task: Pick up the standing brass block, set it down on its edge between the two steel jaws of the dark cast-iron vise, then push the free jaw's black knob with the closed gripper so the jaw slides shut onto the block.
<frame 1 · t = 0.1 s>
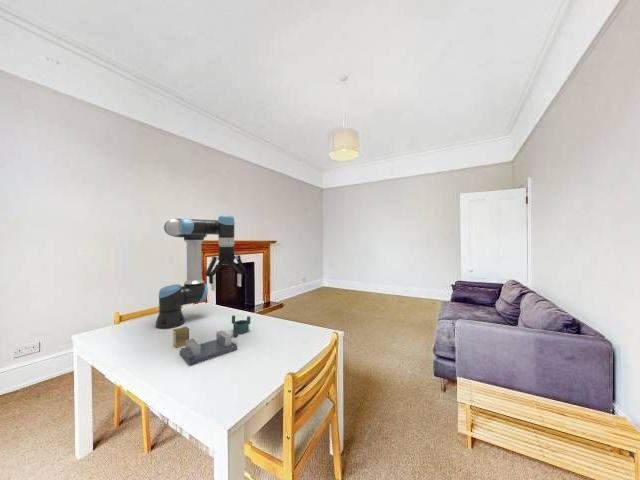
hand: (226, 288, 125), 28 cm above the table, fingers open, 13 cm apart
free jaw: (229, 336, 122), point 4 cm above the table, slide at 0.0 cm
bracket: (241, 331, 141), on the table
vise: (209, 352, 116), on the table
brass block: (181, 345, 123), on the table
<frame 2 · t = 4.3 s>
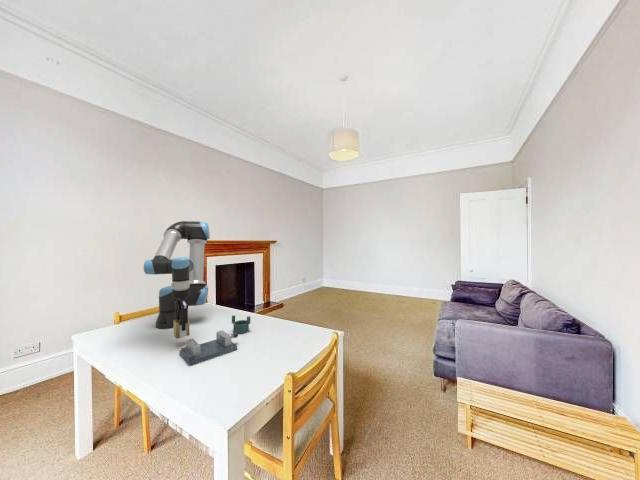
hand: (181, 334, 123), 5 cm above the table, fingers closed on brass block, 4 cm apart
brass block: (181, 335, 123), point 4 cm above the table, touching gripper
everything else where it was.
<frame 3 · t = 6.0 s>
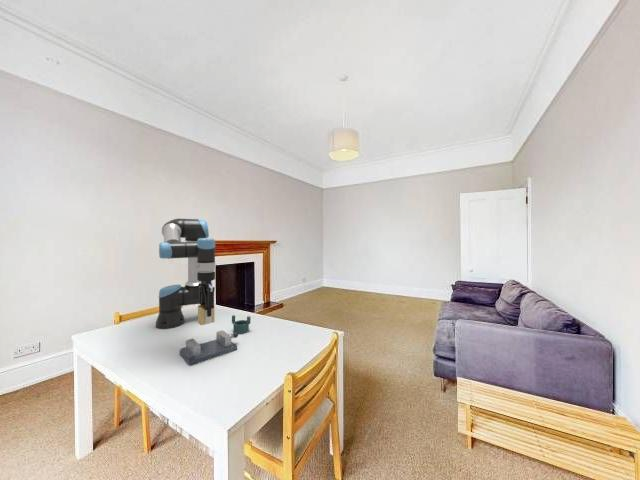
hand: (206, 321, 115), 15 cm above the table, fingers closed on brass block, 4 cm apart
brass block: (206, 322, 115), point 14 cm above the table, touching gripper
everything else where it was.
when the fingers open (2 cm above the table, at t = 8.0 s): brass block stays where it is, resting on vise.
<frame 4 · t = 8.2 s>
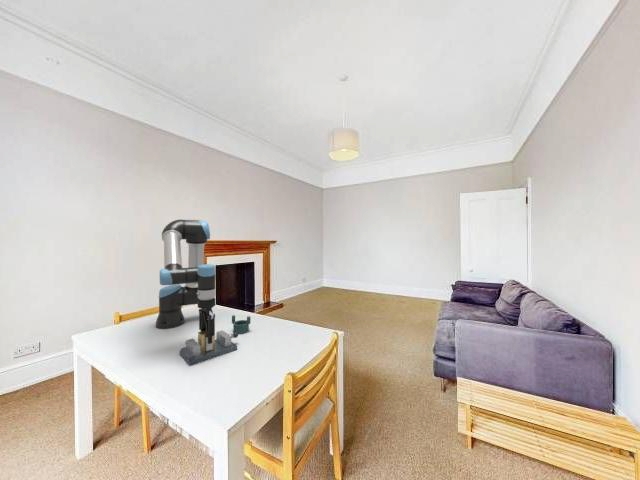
hand: (206, 347, 115), 2 cm above the table, fingers open, 5 cm apart
brass block: (206, 348, 115), point 2 cm above the table, touching vise
everything else where it was.
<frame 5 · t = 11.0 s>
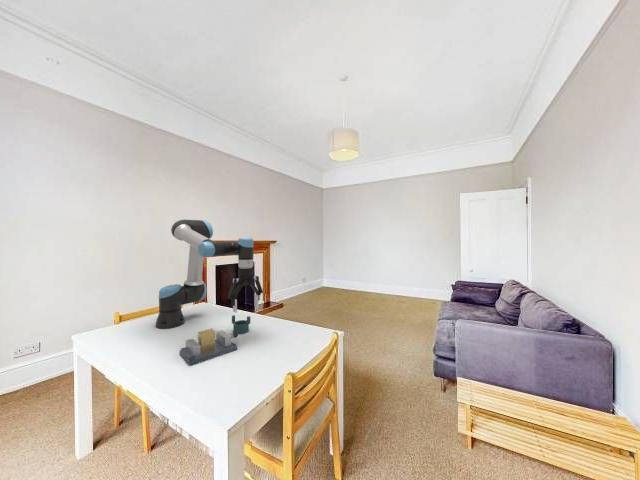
hand: (246, 309, 128), 16 cm above the table, fingers open, 11 cm apart
nothing on the table moved.
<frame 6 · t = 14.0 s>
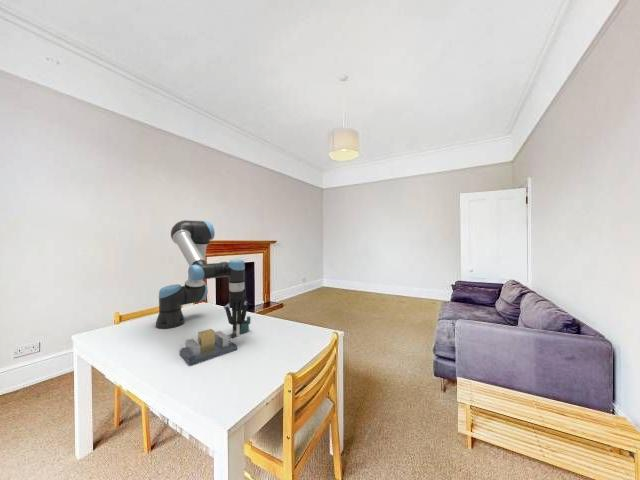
hand: (236, 336, 125), 3 cm above the table, fingers closed
free jaw: (227, 337, 122), point 4 cm above the table, slide at 1.2 cm, touching gripper
everything else where it was.
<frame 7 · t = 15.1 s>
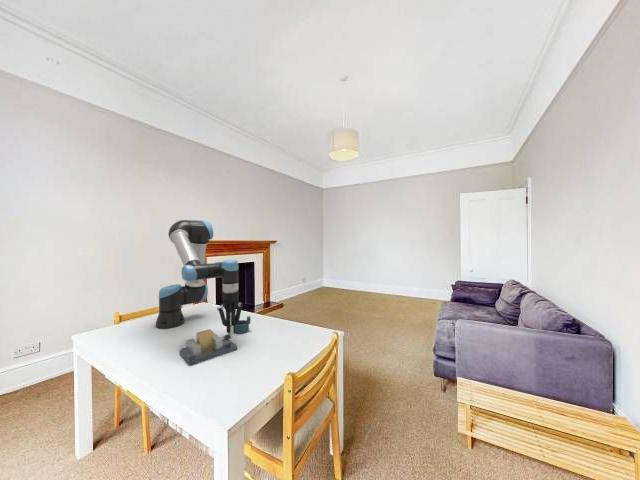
hand: (230, 338, 123), 3 cm above the table, fingers closed
free jaw: (220, 339, 119), point 4 cm above the table, slide at 4.3 cm, touching brass block, gripper
brass block: (204, 349, 114), point 2 cm above the table, touching free jaw, vise
everything else where it was.
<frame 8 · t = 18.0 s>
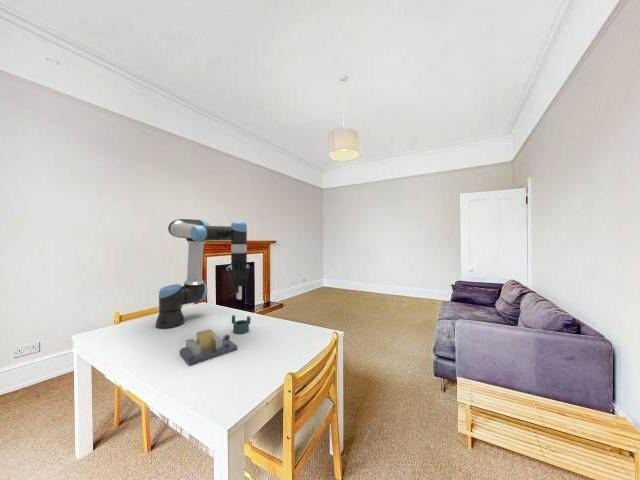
hand: (239, 298, 126), 22 cm above the table, fingers closed
free jaw: (220, 339, 119), point 4 cm above the table, slide at 4.3 cm, touching brass block
everything else where it was.
at the end: brass block inside the target area on the vise (0.1 cm from its centre), point 2.0 cm above the vise's base; brass block tilted 0°; free jaw slide at 4.3 cm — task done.
